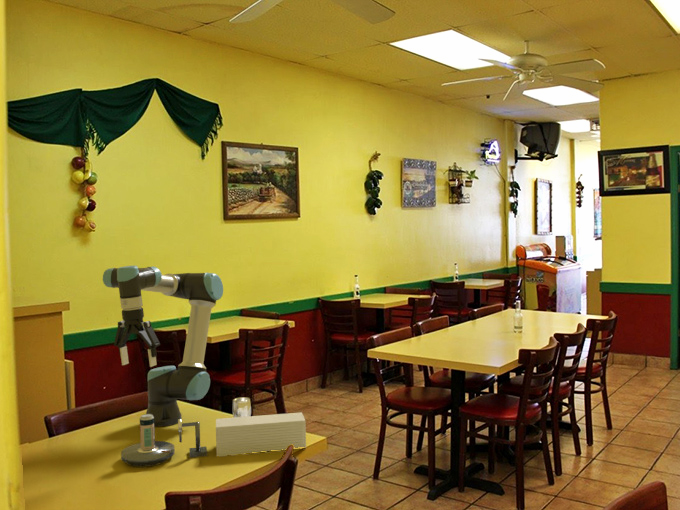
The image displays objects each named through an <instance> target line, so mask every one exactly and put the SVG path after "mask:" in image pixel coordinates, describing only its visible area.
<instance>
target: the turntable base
mask: <svg viewBox="0 0 680 510" xmlns="http://www.w3.org/2000/svg"><path fill="white" fill-rule="evenodd" d="M168 460H169V458H168V459H166V460H163V461H160V462H155V463H150V464H130V465H129V463H127V464H128V465H129V466H133V467H139V468H140V467H142V468H143V467H151V466H156V465H160V464H163V463H165V462H166V461H168Z"/></svg>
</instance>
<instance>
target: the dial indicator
mask: <svg viewBox="0 0 680 510" xmlns="http://www.w3.org/2000/svg"><path fill="white" fill-rule="evenodd" d="M182 421H183V419H178V423H177V424H178V426H177V428H178V435H179V443H183V440H182V439H183V436H182V432H183V428H186V427H195V428H194V429H195V430H194V431H195V432H194V433H195V434H194V435H195V447H190V448H188V449H189V458H190V459H192V458H201V456H202V457H208V449H207V446H201V427H200V425H201V423H200V422H201V421H195V422H182Z"/></svg>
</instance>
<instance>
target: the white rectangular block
mask: <svg viewBox="0 0 680 510" xmlns="http://www.w3.org/2000/svg"><path fill="white" fill-rule="evenodd" d="M306 426H307V425H306V419H305V416H304V414H303V412H293V413H291V412H290V413H288V412H287V413H277V414H275V413H274V414H265V415H252V416H248V417H235V418H233V417H223V418H216V419H215V441H216V442H215V444H216V445H215V449H216V457H217V456H219V457H228V456H227V455H231V456H237V455H236V454H242V455H245V454H244V453H252V452H261V451H271V450H282V449H283V450H285V449H286V448H287V447H288V446H289V445H291V444H293V445H294V447H295V448H298V447H305V448H306V449H307V436H306V435H307V434H306V430H307V429H306Z"/></svg>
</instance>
